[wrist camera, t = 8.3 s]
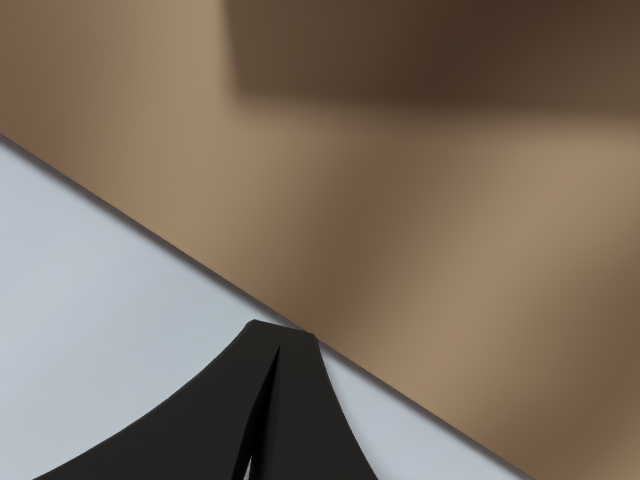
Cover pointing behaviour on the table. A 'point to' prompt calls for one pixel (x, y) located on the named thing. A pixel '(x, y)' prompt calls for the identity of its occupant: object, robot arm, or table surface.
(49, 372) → the table surface
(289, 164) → the stool board
